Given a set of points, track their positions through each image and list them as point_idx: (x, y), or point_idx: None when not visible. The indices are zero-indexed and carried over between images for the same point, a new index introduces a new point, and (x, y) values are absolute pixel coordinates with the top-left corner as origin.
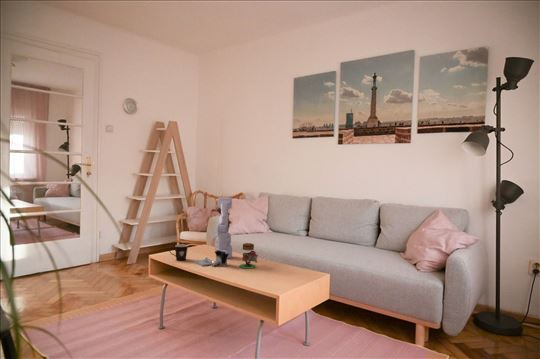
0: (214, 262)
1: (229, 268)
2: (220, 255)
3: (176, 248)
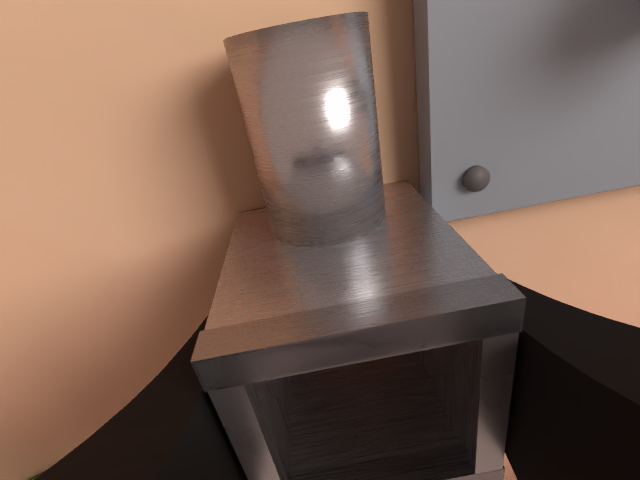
0: (253, 94)
1: (34, 323)
2: (477, 420)
3: None
